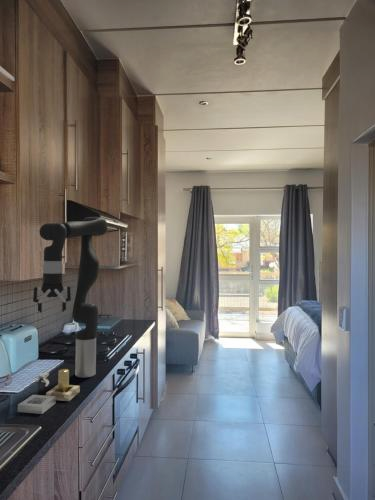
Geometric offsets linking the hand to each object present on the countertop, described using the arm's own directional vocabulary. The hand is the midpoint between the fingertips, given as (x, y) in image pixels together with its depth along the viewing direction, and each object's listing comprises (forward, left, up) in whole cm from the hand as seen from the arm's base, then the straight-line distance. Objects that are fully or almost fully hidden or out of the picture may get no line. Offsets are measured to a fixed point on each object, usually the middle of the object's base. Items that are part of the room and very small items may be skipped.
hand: (52, 311), depth 147 cm
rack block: (+1, +6, -33) cm, 34 cm away
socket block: (+13, +2, -33) cm, 36 cm away
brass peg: (+1, +6, -33) cm, 34 cm away
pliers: (-13, -12, -34) cm, 38 cm away
